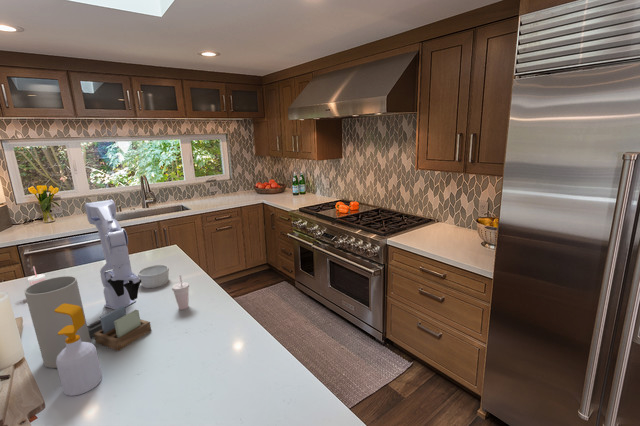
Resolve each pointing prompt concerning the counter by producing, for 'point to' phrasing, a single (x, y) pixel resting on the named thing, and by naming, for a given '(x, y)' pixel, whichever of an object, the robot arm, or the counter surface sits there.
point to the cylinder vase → (53, 314)
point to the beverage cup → (36, 278)
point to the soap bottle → (77, 356)
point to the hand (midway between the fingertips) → (127, 297)
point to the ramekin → (154, 276)
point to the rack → (118, 344)
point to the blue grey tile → (111, 318)
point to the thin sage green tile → (127, 323)
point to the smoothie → (181, 294)
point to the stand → (94, 328)
